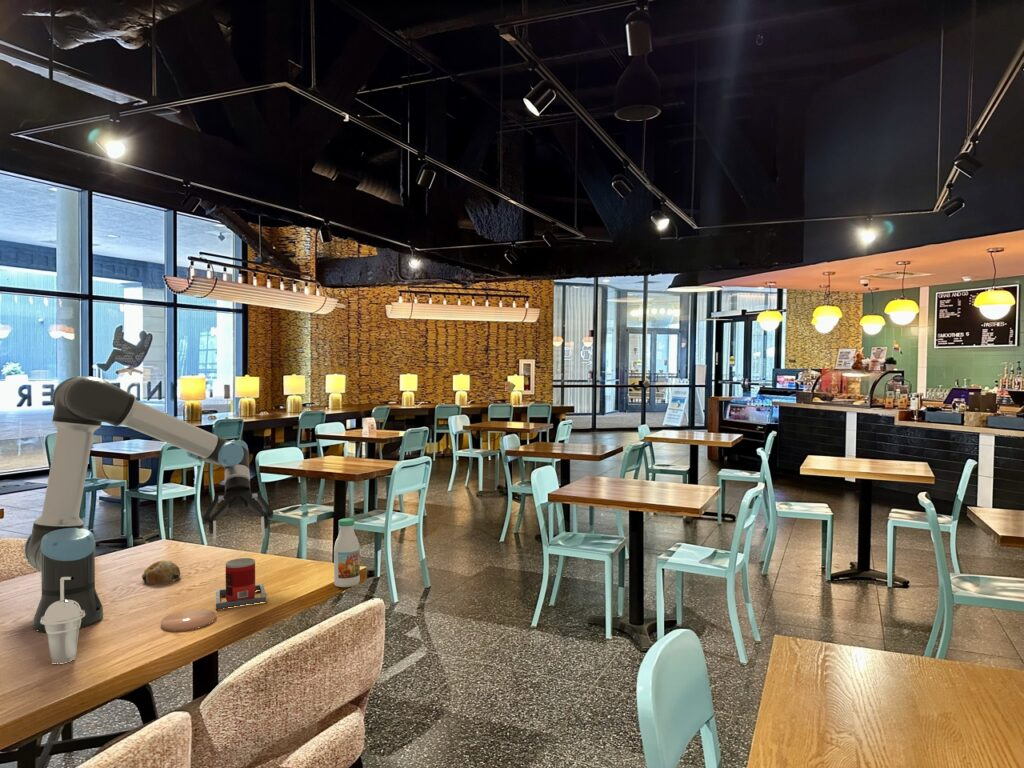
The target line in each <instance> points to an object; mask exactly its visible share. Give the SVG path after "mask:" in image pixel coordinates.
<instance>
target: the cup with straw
mask: <svg viewBox="0 0 1024 768" xmlns="http://www.w3.org/2000/svg"><path fill="white" fill-rule="evenodd" d="M73 579H74V577H61V579H60V600H58V601H56V602H54V603H53V604H51V605H50V606H49V607H48V609H47V610H46V612H45V615H44V616H42V617H41V621H40V623H41V624H44V625H45V630H46V632H45V633H46V635H47V642H48V644H47V645H48V650H49V656H50V660H51V663H56V664H57V663H58V664H60V663H65V662H69V661H72V660H74V659H75V657H76V655H77V650H78V642H79V634H80V629H81V628H80V624H81V619H82V618H83V617H84V616H85V615H86V613H85V610H84V609H81V607H80V605H79V604H78V603H77V602H76V601H74V600H71V599H64V580H73ZM75 660H76V659H75ZM75 660H74V661H75ZM72 662H73V661H72Z"/></svg>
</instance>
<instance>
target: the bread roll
mask: <svg viewBox="0 0 1024 768" xmlns="http://www.w3.org/2000/svg"><path fill="white" fill-rule="evenodd" d="M180 576H181V569H180V567H179V566H178V565H177V564H176V563H174V562H173V561H171V560H159V561H156V562H153V563H152V564H150V565H149V566H148V567H147V568H146V569H144V572H143V573H142V574H141V578H142V581H143V582H144V583H145V584H146V583H147V584H146V585H151V586H155V584H156V585H165V584H170V582H171V583H174V582H176V581H177V580H178V579H179V578H180Z"/></svg>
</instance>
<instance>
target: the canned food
mask: <svg viewBox="0 0 1024 768" xmlns="http://www.w3.org/2000/svg"><path fill="white" fill-rule="evenodd" d="M255 585H256V560H255V559H254V558H250V557H241V558H235V559H231V560H228V561H227V562H226V563H225V589H226V596H225V601H232V600H240V599H247V598H255V597H256V592H255Z"/></svg>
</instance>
